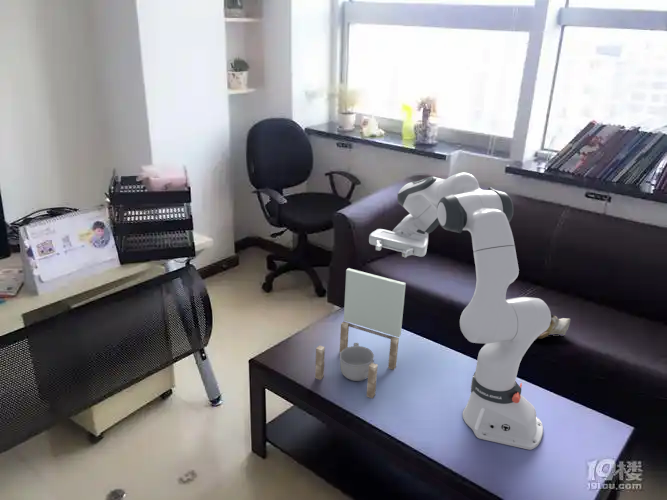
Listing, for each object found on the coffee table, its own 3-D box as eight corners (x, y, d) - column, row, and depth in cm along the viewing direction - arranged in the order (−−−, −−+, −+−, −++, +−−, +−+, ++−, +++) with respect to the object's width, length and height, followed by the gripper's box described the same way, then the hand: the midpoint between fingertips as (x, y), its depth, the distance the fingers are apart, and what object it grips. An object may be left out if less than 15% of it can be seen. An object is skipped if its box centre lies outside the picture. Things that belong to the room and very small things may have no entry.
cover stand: (396, 366, 191) (399, 337, 187) (372, 398, 175) (374, 367, 171) (342, 348, 199) (344, 320, 195) (315, 378, 183) (316, 348, 179)
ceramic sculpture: (576, 322, 205) (533, 322, 205) (572, 343, 208) (530, 343, 209) (566, 307, 215) (525, 307, 215) (562, 327, 218) (522, 328, 218)
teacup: (369, 388, 180) (371, 366, 177) (335, 382, 182) (336, 361, 179) (375, 362, 192) (377, 342, 189) (343, 358, 194) (345, 337, 191)
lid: (398, 337, 186) (402, 332, 189) (404, 284, 178) (407, 281, 181) (343, 320, 194) (347, 316, 197) (346, 269, 187) (350, 266, 189)
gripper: (377, 221, 206) (362, 236, 195) (432, 234, 199) (420, 250, 188) (376, 237, 209) (361, 252, 198) (430, 250, 202) (418, 267, 190)
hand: (390, 251), depth 193 cm, fingers open, 8 cm apart
